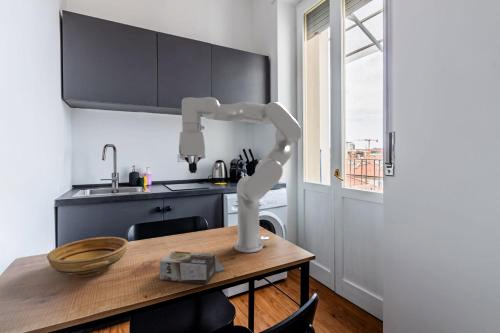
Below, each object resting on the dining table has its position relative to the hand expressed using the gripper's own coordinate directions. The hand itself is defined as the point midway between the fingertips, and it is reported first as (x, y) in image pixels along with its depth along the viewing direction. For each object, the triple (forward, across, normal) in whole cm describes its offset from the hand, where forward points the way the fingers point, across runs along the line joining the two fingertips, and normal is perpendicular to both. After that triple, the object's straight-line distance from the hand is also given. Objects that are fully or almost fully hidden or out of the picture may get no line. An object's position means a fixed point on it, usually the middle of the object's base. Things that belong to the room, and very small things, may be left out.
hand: (192, 172), depth 103 cm
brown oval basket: (+33, +37, -1) cm, 50 cm away
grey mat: (+34, +4, +14) cm, 37 cm away
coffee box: (+30, +14, +15) cm, 36 cm away
